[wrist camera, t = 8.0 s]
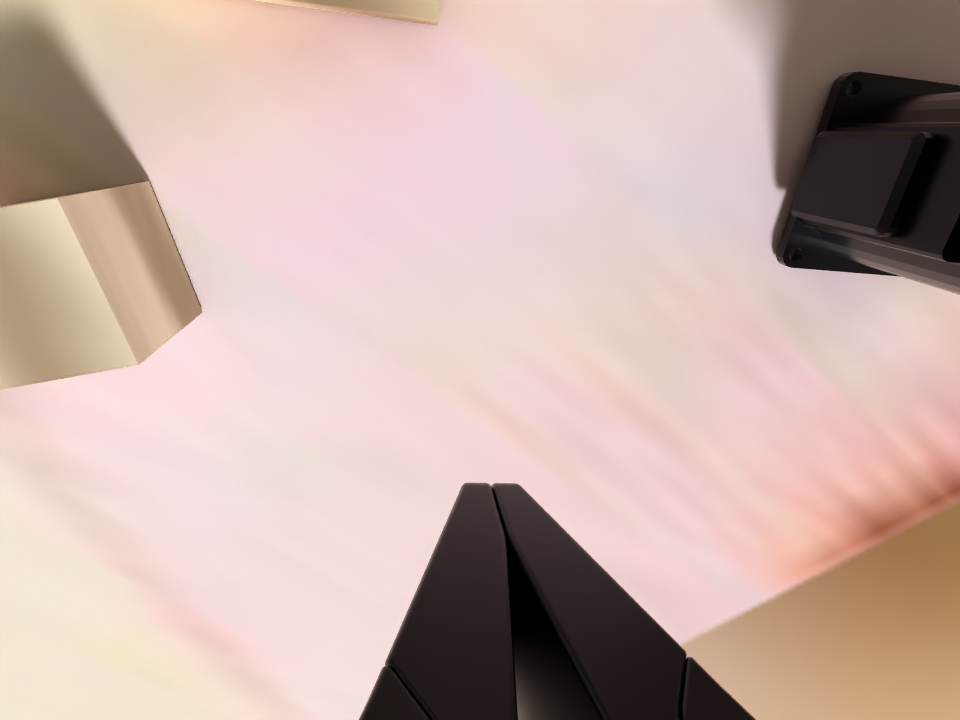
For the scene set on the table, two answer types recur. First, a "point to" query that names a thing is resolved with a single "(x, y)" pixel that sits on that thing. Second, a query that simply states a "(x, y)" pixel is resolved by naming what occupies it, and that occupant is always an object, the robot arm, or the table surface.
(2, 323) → the maple cube
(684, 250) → the table surface
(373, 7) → the rail
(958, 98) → the robot arm
